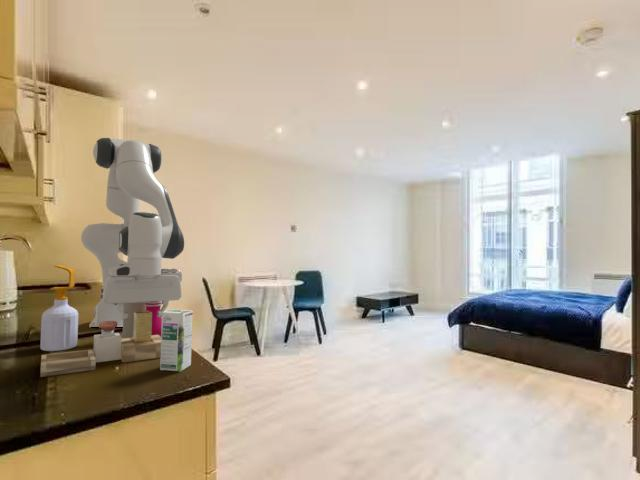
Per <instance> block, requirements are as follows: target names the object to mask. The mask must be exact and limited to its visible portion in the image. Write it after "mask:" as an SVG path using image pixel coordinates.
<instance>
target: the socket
mask: <svg viewBox="0 0 640 480" xmlns="http://www.w3.org/2000/svg"><path fill="white" fill-rule="evenodd" d="M151 359H161V337H160V336H159V335H151V342H143V343H133V337H130V338H122V342H121V359H120V360H121V362H122V363H129V362H137V361H144V360H151Z"/></svg>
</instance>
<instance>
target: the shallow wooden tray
mask: <svg viewBox="0 0 640 480" xmlns="http://www.w3.org/2000/svg"><path fill="white" fill-rule="evenodd" d="M40 359H41V360H40V371H39V372H40V376H39V377H40V378H44V377H51V376H52V377H53V376H58V375H65V374H67V375H68V374H74V373H80V372H89V371H95V370H96V366H97V365H96V364H97V362H96V359H95V356H94V353H93V349H92V348H91V349H84V350H76V351H75V350H74V351H68V352H67V351H66V352H56V353H47V354H41V358H40Z"/></svg>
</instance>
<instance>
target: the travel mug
mask: <svg viewBox="0 0 640 480" xmlns="http://www.w3.org/2000/svg"><path fill="white" fill-rule="evenodd" d="M123 311H124V313H126V312H127V313H128V316H127V317H128V319H127V320H123V328H122V334H121V335H122V336H121V337H122V338H130V337H133V328H134V312H136V311H146V306H145V302H136V303H124V307H123Z"/></svg>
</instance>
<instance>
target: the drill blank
mask: <svg viewBox="0 0 640 480" xmlns="http://www.w3.org/2000/svg"><path fill="white" fill-rule="evenodd" d="M151 331H152V312H150V311H136V312H134V328H133V343H143V342H151Z"/></svg>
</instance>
